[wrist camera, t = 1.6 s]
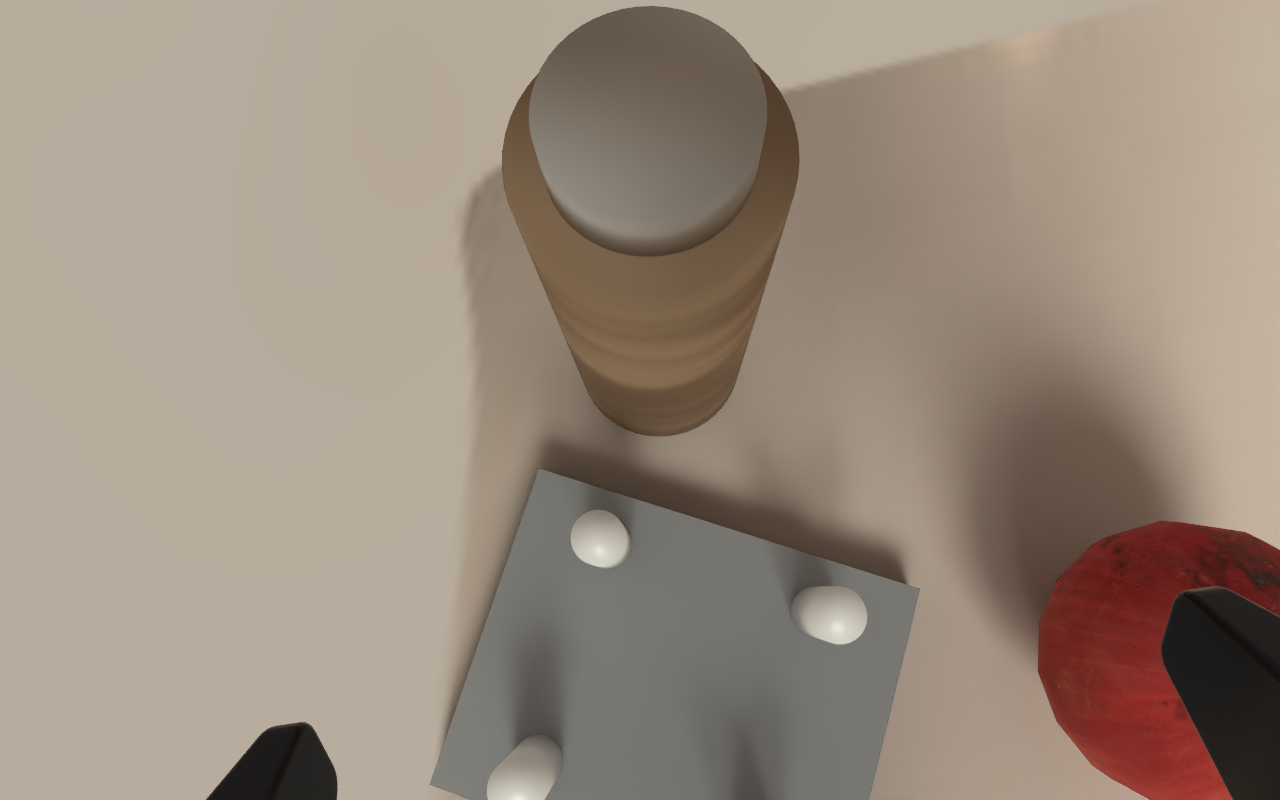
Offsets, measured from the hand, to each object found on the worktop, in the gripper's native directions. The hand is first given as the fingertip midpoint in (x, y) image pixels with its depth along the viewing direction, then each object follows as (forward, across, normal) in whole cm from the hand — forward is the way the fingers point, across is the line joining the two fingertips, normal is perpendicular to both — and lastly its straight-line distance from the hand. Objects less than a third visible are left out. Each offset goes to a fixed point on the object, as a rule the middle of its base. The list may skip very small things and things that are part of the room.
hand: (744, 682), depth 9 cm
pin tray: (+9, +1, +10) cm, 13 cm away
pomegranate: (+8, -10, +11) cm, 17 cm away
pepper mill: (+15, 0, +4) cm, 15 cm away
